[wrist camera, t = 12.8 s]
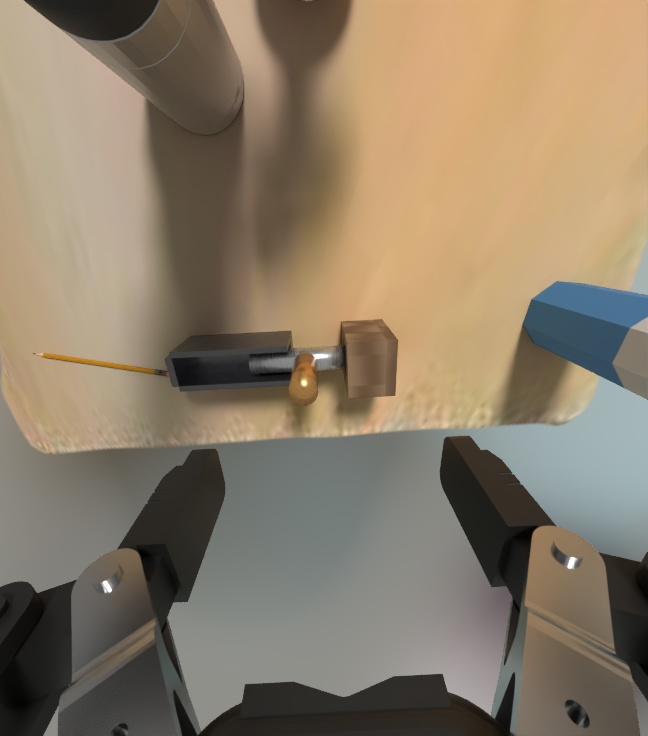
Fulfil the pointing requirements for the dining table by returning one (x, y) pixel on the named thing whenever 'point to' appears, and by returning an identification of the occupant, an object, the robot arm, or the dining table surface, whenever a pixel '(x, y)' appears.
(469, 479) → the robot arm
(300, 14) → the dining table surface
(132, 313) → the dining table surface
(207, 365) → the sleeve
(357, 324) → the socket block
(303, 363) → the tube
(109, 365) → the pencil
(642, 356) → the water bottle
